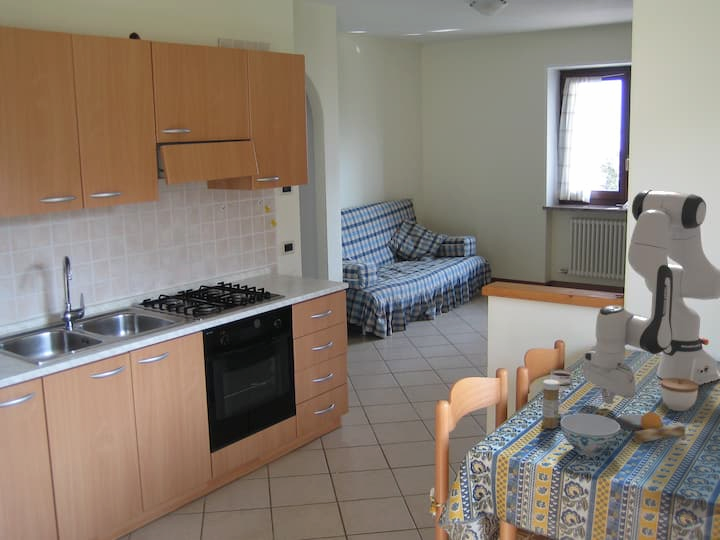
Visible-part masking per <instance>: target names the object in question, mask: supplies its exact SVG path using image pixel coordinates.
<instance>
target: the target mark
mask: <svg viewBox="0 0 720 540" xmlns="http://www.w3.org/2000/svg"><path fill="white" fill-rule="evenodd" d="M642 416H643V415H641V414H623V415H620V416H617V417H616V418H615V419H614V421H616V422H617V423H618V424H619V425H620V428H623V429H626V430H630V431H634V432H635V431H640V430H645V429H644V428H643V427H642V425H641V418H642ZM663 426H664V424H663V423H662V424H661V427H663Z"/></svg>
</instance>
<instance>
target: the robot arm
mask: <svg viewBox="0 0 720 540" xmlns="http://www.w3.org/2000/svg"><path fill="white" fill-rule="evenodd" d="M631 214H632V217H633V219H634V220H635V221H636V223H635V225H634V228H633V231H632V235H631V239H630V243H629V246H628V247H629V248H628V252H627V253H628V254H627V259H628V263H629V265H630V267H631V268H632V270H633V271H634V272H635V273H636V274H637V275H639V276H640V277H642V278H643V279H644V283H645V286H646V288H647V290H648V291H649V292H650V293H651V294H652V295H651V311H650V312H651V313H650V317H647V316H641V315H639V314H635V313H633V312H630V311H628V310H627V309H625V307H624V306H622V305H618V304H617V305H616V304H612V305H605V306H603V307H601V308H600V309H599V310H598V312H597V313H598V314H597V317H596V323H595V339H596V342H595V345H594V350H591V351H584V353H583V359H584V361H583V365H582V366H583V367H582V376H583V380H584V381H587V382H589V383H590V384H592V385H595V386H597V387H599V391H600V392H599V393H600V394H601V397H602V398H601V401H602V402H603V403H605V404H608V405H612V404H613V403H614V398H615V397H616V395H617V396H619V397H622V398H624V399H628V398H633V397H634V396H635V394H636V379H635V375H634V371H633V369H632V368H631V367H630V366H629V365H628V366H627V365H626V346H627V345H628V346H631V347H633V348H636V349H640V350H642V351H645V352H646V353H650V354H651V355H658V354H660V353H661V355H660V359H659V365H658V367H657V372H656V376H657V377H658V378H660V379H661V380H663V379H667V378H682V379H687V380H691V381H693V382H696V383H697V384H698V386H701V385H704V383H705V384H707V383H712V382H715V381H718V379H719V380H720V371H719V370H718V363H717V360H716V358H715V357H713V356H712V355H711V354H710V353H708V352H707V350H705V349H704V348H703V345H705V346H708V345H709V339H707V338H705V337H703V338H700V328H701V317H700V315H699V313H698V312H697V311H696V310H694V309H693V308H691V307H690V306H688V305H687V304H686V302H685V301H684V300H685V299H691V300H692V299H693V300H702V301H707V300H718V299H719V298H720V269H719V268H717V267H716V266H714V265H713V264H712V263H711V261H710V260H709V259H708V257H707V256H706V254H705V253H704V250H703V244H702V236H701V235H702V234H701V225H702V224H703V223H704V222H705V218H706V215H707V203H706V201H705V200H704V199H703V197H701V196H699V195H696V194H693V193H690V194H688V193H683V192H678V191H666V190H664V191H662V190H657V191H656V190H649V189H648V190H642V191H639V192H638V193H637V194H636V195H635V196H634V198H633V201H632V205H631ZM668 258H669V259H670V260H672V261H673V262H675V264H674V263H669V262H668ZM684 298H685V299H684ZM711 381H712V382H711Z"/></svg>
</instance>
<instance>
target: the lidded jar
mask: <svg viewBox="0 0 720 540" xmlns="http://www.w3.org/2000/svg"><path fill="white" fill-rule="evenodd" d="M659 384H660V397H661V400H662V401H663V403H664V404H665V405H666V406H667V408H668V409H669V408H670V409H669V410H673V411H676V412H686V411H689V409H690V408H692V406H694V404H695V403H696V400H697V399H698V394H699V387H700V385H698V384H697V383H696V382H693V381H691V380H687V379H682V378H667V379H661V380H660V383H659Z"/></svg>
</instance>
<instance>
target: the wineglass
mask: <svg viewBox="0 0 720 540" xmlns="http://www.w3.org/2000/svg"><path fill="white" fill-rule="evenodd" d="M573 376H574V373H573V372H572V371H569V370H564V369H556V370H551V371H550V378H549V379H551V380H557V381H559V384H560V385H559V407H558V415H567V414H569V410H567V409H566V408H562V400H563V392H564V391H566V390H568V389H569V388H570V387H571V386H572V385H573V383H574V378H573Z"/></svg>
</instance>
